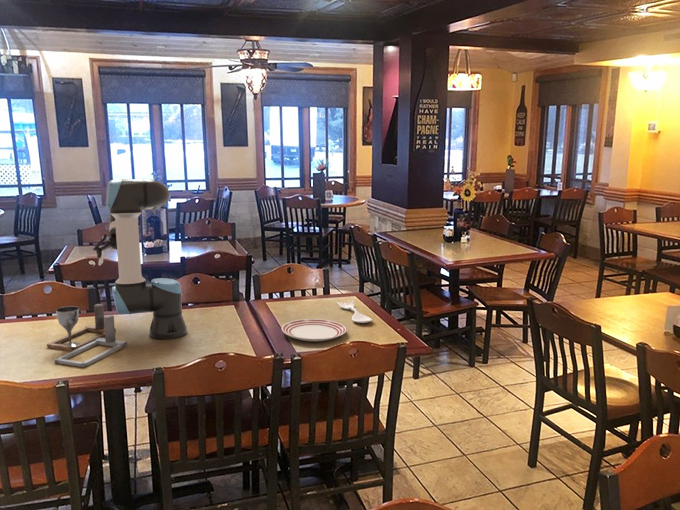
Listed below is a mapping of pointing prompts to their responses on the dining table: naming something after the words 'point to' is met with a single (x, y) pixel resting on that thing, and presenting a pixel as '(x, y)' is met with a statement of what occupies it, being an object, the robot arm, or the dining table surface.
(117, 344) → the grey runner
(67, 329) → the wine glass
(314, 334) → the dinner plate
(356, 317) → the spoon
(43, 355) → the dining table surface
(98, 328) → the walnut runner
